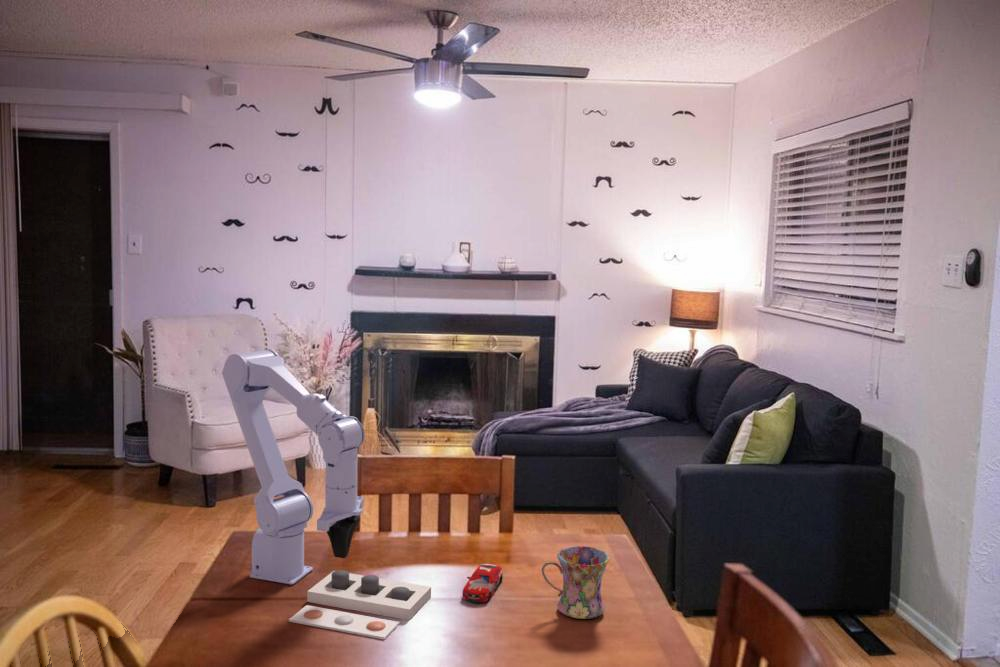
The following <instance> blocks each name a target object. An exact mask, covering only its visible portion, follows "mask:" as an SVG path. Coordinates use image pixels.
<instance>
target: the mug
mask: <svg viewBox="0 0 1000 667" xmlns="http://www.w3.org/2000/svg"><path fill="white" fill-rule="evenodd" d="M556 555H557V556H556V557H557V559H558V561H559V564H560V565H559V564H558V563H557V562H555V561H546V562H545V563H544V564H543V565H542V567H541V573H542V576H543V578H544V580H545V582H547V584H548V585H549V586H551V588H553V589H554V590H557V591H558V593H557V596H558V597H560V599H559V600H558V601H557V610H558V611H559V612H561V613H562V614H563V615H565V616H567V617H569V618H575V619H580V620H581V619H583V620H585V619H586V620H588V619H594V618H597V617H600V616H601V615H603V613H604V611H605V605H604V603H603V600H602V594H601V591H602V590H601V588H602V587H601V586H602V585H601V584H602V579H603V575H604V573H605V571H606V570H605V569H606V568H607V566H608V564H609V561H610V556H609V554H608V553H607V552H605V551H604V550H602V549H600V548H596V547H591V546H584V545H583V546H582V545H574V546H567V547H564V548H561V549H560V550H559V551H558V552H557V554H556ZM549 565H553V566H556V567H557V568H558V570H559V572H560V574H561V575H562V581H563V582H562V586H563V587H562V589H561V588H560V587H558V586H556V585H555V584H553V583H552V582H551V581H550V580H549V579H548V577H547V575H546V574H545V567H547V566H549Z"/></svg>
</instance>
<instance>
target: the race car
mask: <svg viewBox="0 0 1000 667" xmlns="http://www.w3.org/2000/svg"><path fill="white" fill-rule="evenodd" d="M503 574H504V573H503V569H502V566H500V565H498V564H493V563H481V564H480V565H479V566H478V567H477V568H476V569H475V570H474V571H473V573H472V575H471V576H467V577H466V578H467V579H468V581H467V583H465V586H464V587H463V589H462V591H461V592H462V598H463V600H465V601H468V602H472V603H489V602H490V601H491V599H492V597H493V596H494V594H495V592H497V590H498V588H499V587H500V586H501V584H502V583H503V578H504V576H503Z"/></svg>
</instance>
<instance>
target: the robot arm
mask: <svg viewBox="0 0 1000 667" xmlns="http://www.w3.org/2000/svg"><path fill="white" fill-rule="evenodd" d="M221 375H222V377H223V381H224V384H225V385H226V389H227V392H228V395H229V397H230V400H231V403H232V406H233V410H234V412H235V415H236V417H237V421H238V423H239V427H240V429H241V432H242V435H243V438H244V441H245V444H246V447H247V449H248V451H249V452H248V453H249V455H250V457H251V458H250V459H251V461H252V464H253V467H254V470H255V472H256V475H257V477H258V481H259V482H260V483H259V484H260V487H261V488H260V489H259V491H258V492H257V494H256V496H255V497H254V499H253V503H254V506H255V507H254V508H255V514H256V516H255V517H256V518H255V519H256V522H257V525H258V527H259V528H257V530H256V531H255V532H254V534H253V536H252V541H251V573H250V574H249V578H251V579H252V578H253V579H257V580H263V581H264V580H265V581H269V582H275V583H280V584H286V585H294V584H296V583H297V582H298V581H300V580H301V579H303V577H305V576H306V575H307V574H309V573H310V572H311V571H313V568H314V567H312V566H308V565H305V529H306V528H307V527H308V522H310V521H311V519H312V518H313V514H314V506H313V501H312V499H311V497H310V495H308V494H307V493H306V491H305V488H304V486H303V483H301V482H300V481H298V480H296V479H294V478H292V477H290V476H289V473H288V469H287V467H286V464H285V461H284V459H283V457H282V453H281V450H280V448H279V445H278V443H277V440H276V438H275V437H276V436H275V434H274V431H273V428H272V425H271V423H270V420H269V418H268V415H267V412H266V409H265V406H264V403H263V401H264V399H265V396H266V395H267V394H268V393H270V391H271V389H273V390H274V391H275V392H276V393H278V394H279V395H280V396H282V398H284V399H285V400H286V401H288V402H289V403H290V404H292V406H294V407H295V408H296V415H297V418H298V419H299V420H300V421H302V423H304V424H305V425H306V426H307V427H308V428H309V429H310V431H312V432H313V433H314V434H315V435H316V436H317V440H318V444H319V447H320V448H321V450H322V451H321V452H322V459H323V460H324V463H325V488H324V489H325V491H324V492H325V493H324V494H325V500H324V501H325V502H324V503H325V505H324V506H325V507H324V508H323V510H322V513H321V515H320V516H319V518H317V519H316V531H318V532H320V531H321V532H326V534H327V536H328V539H329V541H330V545H331V549H332V553H333V556H334V558H340V559H345V558H346V557H348V555H349V551H350V547H351V544H352V539H353V537H354V533H355V530H356V529H357V527H358V525H359V523H360V521H361V520H360V519H361V516H360V515H362V514H363V512H364V510H363V509H362V508H364V507H365V502H364V501H365V499H364V498H365V497H364V496H359V495H358V461H359V460H358V459H359V456H358V453H359V452H358V449H359V447H361V446H362V445H363V443H364V441H365V438H366V436H365V428H364V426H363V424H362V423H361V421H359V419H358V418H357V417H355V416H352V415H351V416H347V415H346V414H343V413H342V412H341V411H340V410H338V409H336V408H335V406H333V405H332V404H331V403H330V402H329V401H328V400H326V399H327V397H326V396H325V395H323V393H321V394H320V393H318V392H317V393H310V392H309V391H308V390H307V389H306V387H304V386H303V384H301V383H300V382H299V381H298V379H296V377H295V376H294V375H293V374H292V373H291V372H290V371H289V370H288V369H287V368H286V366H285V359H284V357H281V355H279V354H278V352H277V351H276V350H274V349H271V348H267V349H264V350H259V351H258V350H257V351H251V352H244V353H232V354H230V355H229V356H227V358H226V360H225V362H224V365H223V368H222V371H221ZM280 496H281V497H280ZM277 497H278V498H277Z"/></svg>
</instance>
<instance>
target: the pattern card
mask: <svg viewBox="0 0 1000 667" xmlns="http://www.w3.org/2000/svg"><path fill="white" fill-rule="evenodd" d="M288 622H290V623H294V624H295V623H296V624H300V625H306V626H310V627H316V628H321V629H326V630H331V631H337V632H341V633H347V634H354V635H358V636H363V637H369V638H373V639H378V640H379V639H380V640H384V641H385V640H386V639H387V638H388V637H389V636H390V635H391V634H392V633H393V632H394V631H395V630H396V628H398V626H399V625H400V621H397V620H390V619H385V618H380V617H373V616H367V615H363V614H357V613H352V612H346V611H341V610H336V609H330V608H324V607H319V606H314V605H309V604H307V605H305V606H304V607H303V608H301V609H300V610H299V611H298V612H296V613H295V614H294V615H293V616H292V617H290V618H289V619H288Z"/></svg>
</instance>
